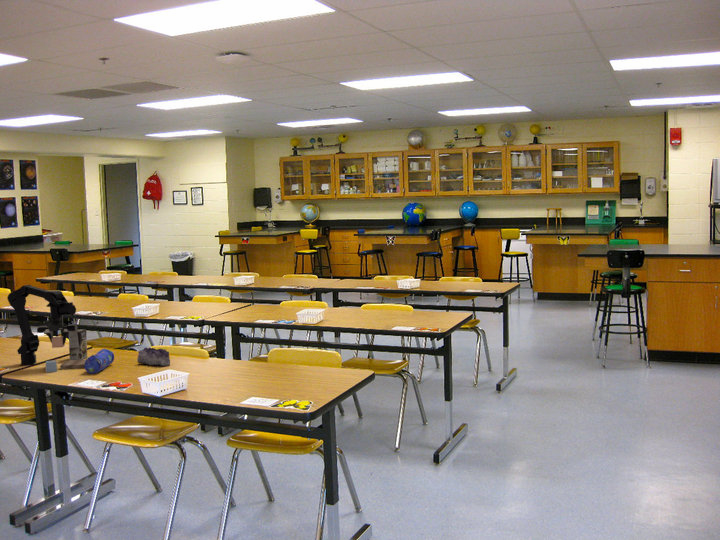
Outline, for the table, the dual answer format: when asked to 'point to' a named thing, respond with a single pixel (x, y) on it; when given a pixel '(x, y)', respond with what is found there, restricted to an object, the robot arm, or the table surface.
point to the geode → (154, 357)
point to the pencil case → (99, 361)
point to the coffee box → (78, 344)
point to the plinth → (73, 364)
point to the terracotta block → (57, 342)
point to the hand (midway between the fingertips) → (58, 344)
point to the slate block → (51, 366)
